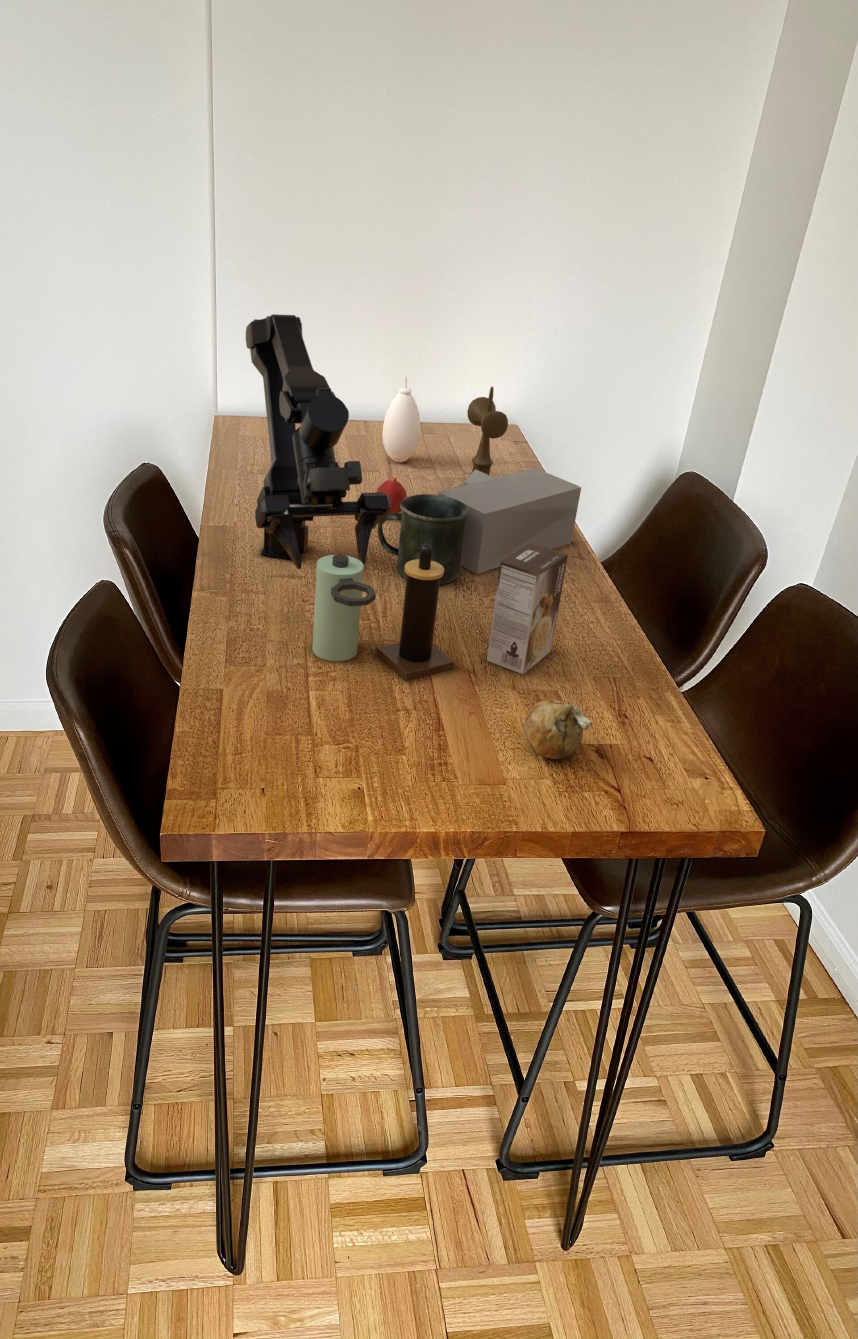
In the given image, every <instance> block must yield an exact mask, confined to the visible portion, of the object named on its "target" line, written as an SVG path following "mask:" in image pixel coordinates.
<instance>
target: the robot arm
mask: <svg viewBox="0 0 858 1339" xmlns="http://www.w3.org/2000/svg"><path fill="white" fill-rule="evenodd" d="M245 344H246V348H247V349H248V350H249V353H250V359H251V363H252V365H253V366H254V367H255V369H256V371H257V372H258V373H259V374H260V375H261V377H262V380H263V382H262V383H263V392H264V401H265V412H266V421H267V422H266V424H267V432H268V440H269V441H268V442H269V452H270V462H271V463H270V466H269V468H268V469H267V472H266V475H265V476H264V479H263V486H262V487H261V489H260V492H259V495H258V497H257V500H256V503H257V506H256V508H255V511H254V518H255V526H256V528H257V529H263V548H262V549H261V550H260V555H261V556H265V557H273V558H277V559H278V558H279V559H285V560H290V561H292V562H293V564H294V566H295V568H296V569H297V570H301V569H302V555H303V554H304V553H305V552H306V551H307V549H308V543H309V526H308V525H306V522H314V517H315V518H316V517H338V516H354V520H355V521H356V522H357V523H356V524H355V526H354V533H355V541H356V550H357V559H358V560H360V561H361V562H362V563H363V565H364V566H365V565H366V560H367V554H368V549H369V543H370V538H371V534H372V531H373V529H375V528H376V527H377V526H378V524H379V523H382V522H383V521H384V519H385V518H386V516H387V515H388V513H389V512H390V510H391V503H390V498H389V497H388V496H387V495H386V494H385V493H384V492H377V491H376V492H361V493H360V495H359V497H358V498H357V500H356V501H355V500H353V501H343V500H342V498H346V496H347V495H348V494H347V491H348V492H349V491H351V486H353V485H355V486H357V485H360V484H362V482H363V471H362V465H361V462H360V460H351V461H350V460H348V461H344V464H343V466H340V465H339V461H337V459H336V454H335V446H336V445H337V444H338V443H339V440H340V439H341V436H342V434H343V432H344V430H345V428H346V426H347V424H348V422H349V419H350V413H349V408H348V407H347V406H346V404H345V403H344V402H343V401H342V400H341V399H340V398H339V397H338V396H336V394H335V393H334V391H333V390H332V388H331V387H330V385H329V382H328V381H327V379H326V377H325V376H324V375H322V374H320V373H319V372H317V371H316V370H315V369H314V368H313V365H312V362H311V358H310V356H309V352H308V350H307V346H306V343H305V340H304V336H303V322H302V320H301V318H300V317H299V316H296V315H295V314H276V313H275V314H271V315H267V316H266V317H265V318H261V319H260V318H258V319H257V318H256V319H253V320H252V321H250V322H249V323H248V325H246V327H245ZM296 424H297V425H298V424H300V425H299V427H297V426H296ZM296 427H297V428H296Z"/></svg>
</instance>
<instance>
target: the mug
mask: <svg viewBox="0 0 858 1339" xmlns="http://www.w3.org/2000/svg"><path fill="white" fill-rule="evenodd" d="M400 508H401V512H399V513H388V515H387V516H386V518H385V519H384V521H383V522H382V523H379V524H377V536H378V539H379V543H380V546H381V547H382V548H383V550H384V551H386V552H387V553H388V554H391V555H393V556H396V557H397V561H396V569H397V571H398V573H399V575H400V576H401V577H403V578H404V579H405V580H406V577H407V574H406V573H405V571H404V567H405V564H406V563H407V562H409V561H411V560H417V559H420V549H421V547H422V546H423V545H429V546H431V548H432V558H431V561H434V562H437V563H439V564H441V565H442V566H443V568H444V575H443V576H442V577H441V578H440V585H439V586H442V585H447V584H450V583H452V582H454V581H456V579H457V578H458V577H459V574H460V567H461V566H460V560H461V552H462V544H463V536H464V528H465V520H466V517H467V516H468V514H469V508H468V507H467V506H466V505H465V504H464V503H462V502H460V501H459V500H456V499H453V498H450V497H446V496H441V495H438V494H431V493H430V494H429V493H424V494H423V493H421V494H414V495H410V496H407V498H405V499H403V500H402V501H401V503H400ZM387 521H400V528H399V529H400V530H399V541H398V547H395V546H393V545H392V544H390V543H389V542H388V541H387V539H386V537H385V534H384V530H383V524H384V523H386V522H387Z"/></svg>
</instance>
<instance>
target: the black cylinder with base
mask: <svg viewBox="0 0 858 1339" xmlns="http://www.w3.org/2000/svg"><path fill="white" fill-rule="evenodd" d="M431 558H432V548H431V546H429V545H423V546H422V547H421V549H420V559H417V560H411V561H409V562H407V563H406V564H405V567H404V571H405V573H406V574H407V577H406V579H405V588H404V597H403V609H402V619H401V629H400V639H399V641H397V642H394V643H391V644H386V645H381V646H377V647H376V651H375V656H377V657H378V658H379V659H380V660H382V661H383V662H384V663H385V664H386V665H387V666H388V667H389V668H391V669H392V670H393V671H394V672H395V673H396V674H398V675H399V677H401V679H403V680H404V681H405V682H407V681H412V680H415V679H419V678H423V677H428V676H431V675H434V674H438V673H441V672H446V671H450V670H453V669H454V665H455V664H454V662H455V661H454V660H453V659H451V657H449V656H448V655H446V654H445V653H443V651H441V650H440V649H439V648H438V647H436V646H435V645H434V644H433V643H434V636H435V628H436V619H437V610H438V601H439V594H440V586H441V585H440V578H441V577H442V576H443V575H444V568H443V566H442V565H441V564H439V563H437V562H434V561H431Z"/></svg>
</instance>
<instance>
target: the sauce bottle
mask: <svg viewBox="0 0 858 1339" xmlns="http://www.w3.org/2000/svg"><path fill="white" fill-rule="evenodd" d="M407 385H408V376H407V375H405V379H404V384H403V387H400V388H399V389H398V393H396V394H395V396H394V397H393V399H392V400H391V402H390V404H389V406H388V408H387V411H386V413H385V417H384V420H383V426H382V443H383V447H384V450H385V452H386V455H387V456H388V457H390V458H391V460H392V461H394V462H395V463H401V464H402V463H403V462H407V461H408V459H410V458H412V456H413V455H414V454H415V452H416V450H417V448H418V445H419V442H420V437H421V419H420V418H421V417H420V411H419V409H418V405H417V402H416V400H415V397H414V396H413V394H412V389H410V388H408V387H407Z"/></svg>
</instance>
